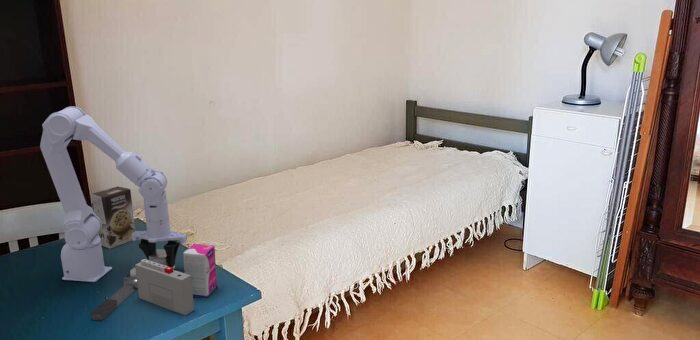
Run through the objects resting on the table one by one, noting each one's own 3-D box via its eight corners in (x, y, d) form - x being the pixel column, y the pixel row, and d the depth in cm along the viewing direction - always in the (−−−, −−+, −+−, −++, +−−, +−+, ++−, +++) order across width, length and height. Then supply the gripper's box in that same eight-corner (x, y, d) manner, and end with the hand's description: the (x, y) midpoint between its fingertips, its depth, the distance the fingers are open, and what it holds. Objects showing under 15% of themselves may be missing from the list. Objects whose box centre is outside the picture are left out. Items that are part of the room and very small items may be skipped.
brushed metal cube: (150, 274, 144) (148, 256, 143) (159, 266, 148) (157, 249, 147) (167, 275, 143) (165, 257, 142) (175, 267, 148) (173, 250, 146)
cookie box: (110, 249, 159) (103, 197, 155) (97, 244, 163) (90, 193, 158) (137, 238, 167) (131, 188, 162) (124, 234, 170) (117, 185, 165)
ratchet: (132, 278, 142) (130, 263, 141) (154, 279, 141) (152, 265, 140) (85, 319, 123) (82, 302, 122) (109, 321, 122) (107, 304, 121)
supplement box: (208, 298, 132) (204, 254, 129) (185, 295, 133) (181, 252, 130) (218, 286, 137) (214, 244, 134) (196, 284, 138) (192, 243, 135)
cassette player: (194, 310, 127) (190, 271, 124) (185, 315, 124) (181, 276, 122) (148, 293, 134) (143, 256, 132) (139, 298, 132) (134, 260, 129)
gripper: (123, 222, 139) (129, 270, 143) (176, 225, 137) (181, 274, 141) (137, 212, 146) (143, 259, 149) (188, 215, 143) (193, 262, 147)
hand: (162, 265), depth 145 cm, fingers closed on brushed metal cube, 5 cm apart
